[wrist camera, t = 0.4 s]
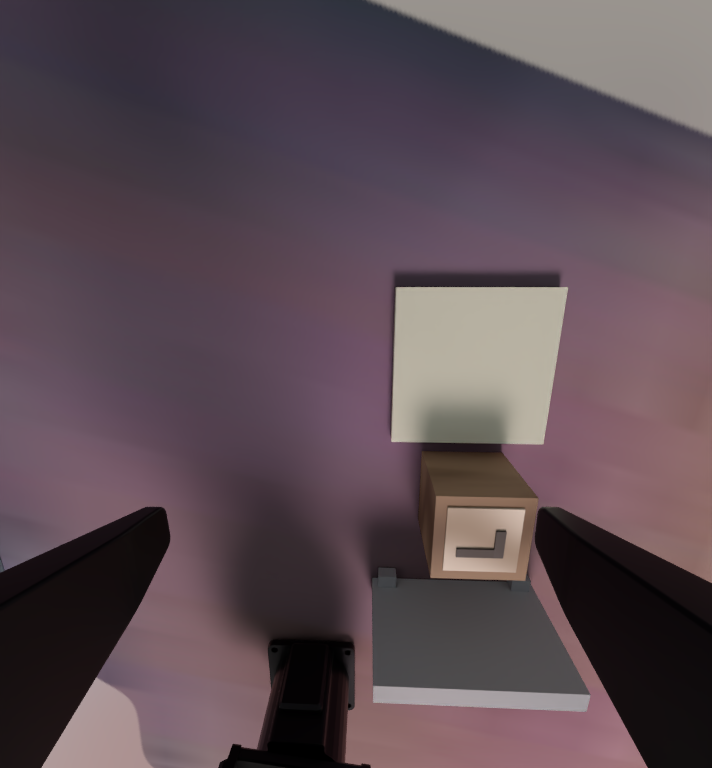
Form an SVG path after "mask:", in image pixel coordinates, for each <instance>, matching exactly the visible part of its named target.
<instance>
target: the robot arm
mask: <svg viewBox="0 0 712 768" xmlns="http://www.w3.org/2000/svg"><path fill="white" fill-rule="evenodd" d="M169 543H170V531H169V525H168V520H167V514H166V511H165V509H164V508H162V507H145V508H142V509H140V510H138V511H136V512H134V513H131V514H129V515H127V516H125V517H122V518H120V519H118V520H116V521H114V522H111V523H109V524H107V525H105V526H103V527H100V528H98V529H96V530H94V531H92V532H89V533H87V534H85V535H83V536H80V537H78V538H76V539H74V540H72V541H69V542H67V543H65V544H63V545H61V546H58V547H56V548H54V549H52V550H50V551H47V552H45V553H43V554H41V555H39V556H36V557H34V558H32V559H30V560H27V561H25V562H23V563H21V564H19V565H16V566H14V567H12V568H10V569H8V570H5V571H3V572H1V573H0V768H41V767H42V766H43V764H44V762H45V761H46V759H47V757H48V756H49V754H50V752H51V751H52V749H53V747H54V746H55V744H56V743H57V741H58V739H59V738H60V736H61V734H62V733H63V731H64V729H65V728H66V726H67V724H68V723H69V721H70V719H71V718H72V716H73V715H74V713H75V711H76V710H77V708H78V706H79V705H80V703H81V701H82V700H83V698H84V697H85V695H86V693H87V692H88V690H89V688H90V686H91V685H92V683H93V682H94V680H95V678H96V677H97V675H98V674H99V672H100V670H101V669H102V667H103V665H104V664H105V662H106V660H107V659H108V657H109V655H110V654H111V652H112V650H113V649H114V647H115V646H116V644H117V642H118V641H119V639H120V637H121V636H122V634H123V632H124V631H125V629H126V627H127V626H128V624H129V623H130V621H131V619H132V617H133V616H134V614H135V612H136V611H137V609H138V607H139V605H140V603H141V601H142V599H143V597H144V595H145V593H146V591H147V589H148V587H149V585H150V583H151V581H152V579H153V577H154V575H155V573H156V571H157V569H158V567H159V565H160V563H161V561H162V559H163V557H164V555H165V553H166V551H167V549H168V546H169ZM535 544H536V548H537V550H538V553H539V555H540V558H541V560H542V562H543V565H544V567H545V569H546V572H547V574H548V576H549V579H550V581H551V584H552V586H553V588H554V591H555V593H556V595H557V598H558V600H559V602H560V605H561V607H562V609H563V611H564V613H565V615H566V617H567V619H568V621H569V623H570V625H571V627H572V629H573V631H574V632H575V634H576V636H577V638H578V640H579V642H580V644H581V645H582V647H583V649H584V651H585V653H586V655H587V656H588V658H589V660H590V662H591V664H592V666H593V668H594V669H595V671H596V673H597V675H598V677H599V679H600V680H601V682H602V684H603V686H604V688H605V690H606V692H607V693H608V695H609V697H610V699H611V701H612V703H613V704H614V706H615V708H616V710H617V712H618V714H619V716H620V717H621V719H622V721H623V723H624V725H625V727H626V728H627V730H628V732H629V734H630V736H631V738H632V740H633V741H634V743H635V745H636V747H637V749H638V751H639V752H640V754H641V756H642V758H643V760H644V762H645V764H646V765H647V767H648V768H712V583H710V582H708V581H706V580H704V579H702V578H700V577H698V576H696V575H694V574H692V573H690V572H688V571H686V570H684V569H682V568H680V567H678V566H676V565H674V564H672V563H670V562H668V561H666V560H664V559H662V558H660V557H658V556H656V555H654V554H652V553H650V552H648V551H646V550H644V549H642V548H640V547H638V546H636V545H634V544H632V543H630V542H628V541H626V540H624V539H622V538H620V537H618V536H616V535H614V534H612V533H610V532H608V531H606V530H604V529H602V528H600V527H598V526H596V525H594V524H592V523H590V522H588V521H586V520H584V519H582V518H580V517H578V516H576V515H574V514H572V513H569V512H567V511H565V510H563V509H561V508H559V507H541V508H540V509H539V511H538V514H537V523H536V531H535ZM268 656H269V668H270V679H271V693H270V697H269V702H268V706H267V710H266V714H265V718H264V722H263V726H262V730H261V734H260V739H259V743H258V747H257V749H250V748H244V747H241V745H238V744H233V745H232V748H231V750H230V753H229V756H228V759H226V760H224V761H222V762H220V764H219V767H218V768H371V767H370V765H369V764H361V765H355V764H348V763H345V753H346V733H347V714H348V710H352V709H353V708H354V705H355V647H354V645H353V644H352V643H348V642H322V641H295V640H272V641H271V642H270V643H269V647H268Z"/></svg>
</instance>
